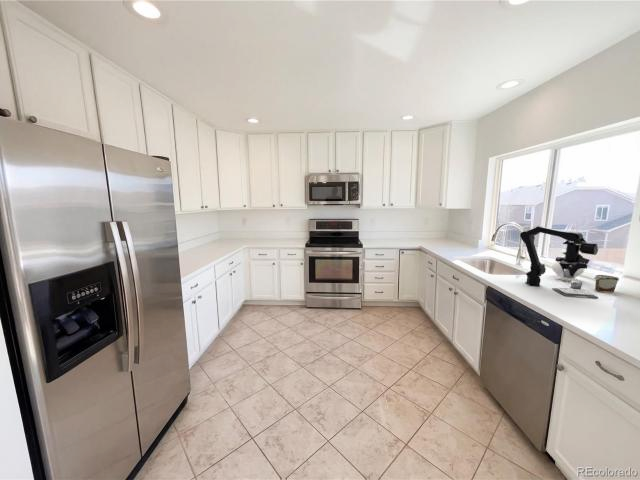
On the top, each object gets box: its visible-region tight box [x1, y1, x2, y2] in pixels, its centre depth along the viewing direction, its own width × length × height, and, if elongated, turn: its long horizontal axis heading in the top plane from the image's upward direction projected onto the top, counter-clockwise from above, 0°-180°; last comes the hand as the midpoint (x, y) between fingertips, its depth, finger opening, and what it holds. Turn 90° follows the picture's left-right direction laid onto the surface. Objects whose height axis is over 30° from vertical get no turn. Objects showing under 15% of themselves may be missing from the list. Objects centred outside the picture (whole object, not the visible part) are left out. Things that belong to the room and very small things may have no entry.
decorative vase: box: [551, 245, 586, 282], centre depth 185 cm, size 18×18×25 cm
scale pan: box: [555, 287, 596, 296], centre depth 158 cm, size 15×9×1 cm, turn 75°
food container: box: [593, 274, 620, 293], centre depth 163 cm, size 12×6×10 cm, turn 84°
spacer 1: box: [563, 268, 575, 278], centre depth 157 cm, size 5×5×5 cm
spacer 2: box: [569, 280, 583, 289], centre depth 167 cm, size 5×5×5 cm
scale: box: [551, 287, 599, 300], centre depth 158 cm, size 17×12×1 cm
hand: (568, 275), depth 157 cm, fingers closed on spacer 1, 5 cm apart
